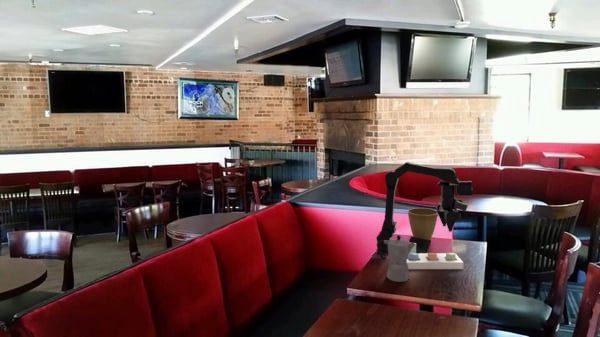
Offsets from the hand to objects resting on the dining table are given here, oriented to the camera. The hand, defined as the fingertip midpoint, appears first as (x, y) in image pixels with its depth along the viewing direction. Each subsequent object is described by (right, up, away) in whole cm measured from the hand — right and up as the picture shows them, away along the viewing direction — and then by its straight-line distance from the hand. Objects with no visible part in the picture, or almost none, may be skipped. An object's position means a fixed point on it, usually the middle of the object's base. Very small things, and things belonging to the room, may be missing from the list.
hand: (447, 228), depth 213 cm
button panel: (-9, -15, -7) cm, 19 cm away
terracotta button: (-9, -14, -8) cm, 18 cm away
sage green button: (-1, -13, -8) cm, 16 cm away
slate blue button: (-17, -14, -8) cm, 23 cm away
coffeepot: (-28, -18, -21) cm, 39 cm away
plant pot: (-4, -10, +27) cm, 29 cm away
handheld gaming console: (-11, -13, +12) cm, 21 cm away
